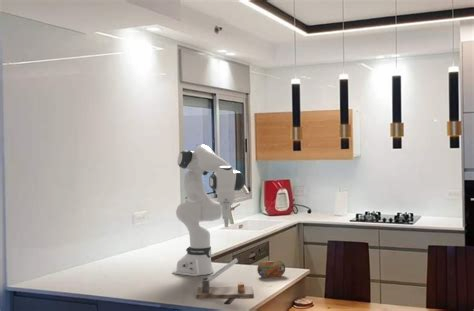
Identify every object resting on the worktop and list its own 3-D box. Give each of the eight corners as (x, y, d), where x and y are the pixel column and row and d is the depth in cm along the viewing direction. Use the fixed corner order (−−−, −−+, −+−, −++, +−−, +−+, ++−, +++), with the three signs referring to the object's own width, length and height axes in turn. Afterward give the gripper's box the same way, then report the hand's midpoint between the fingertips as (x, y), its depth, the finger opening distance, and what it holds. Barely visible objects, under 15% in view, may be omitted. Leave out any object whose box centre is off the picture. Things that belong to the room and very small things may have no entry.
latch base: (196, 298, 244) (196, 283, 244) (198, 290, 258) (198, 275, 258) (253, 297, 244) (253, 282, 244) (252, 289, 258) (252, 274, 258)
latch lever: (205, 285, 249) (203, 283, 249) (205, 282, 253) (204, 280, 253) (237, 261, 249) (236, 259, 249) (237, 260, 253) (236, 257, 253)
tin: (258, 278, 280) (258, 262, 280) (256, 277, 283) (256, 261, 283) (285, 276, 284) (285, 260, 284) (283, 275, 287) (283, 259, 287)
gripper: (232, 200, 259) (232, 228, 259) (232, 196, 280) (232, 223, 280) (219, 200, 259) (219, 229, 259) (220, 196, 279) (220, 223, 280)
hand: (226, 225), depth 270 cm, fingers open, 6 cm apart
